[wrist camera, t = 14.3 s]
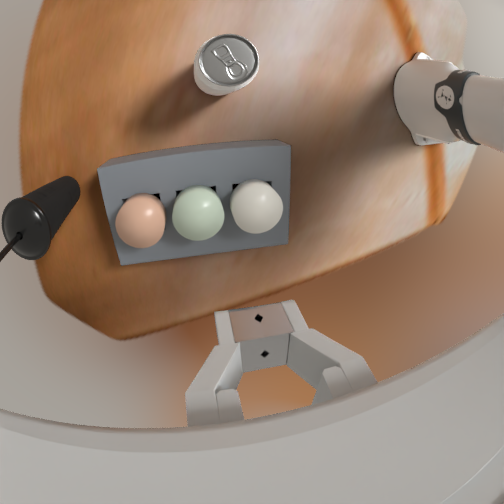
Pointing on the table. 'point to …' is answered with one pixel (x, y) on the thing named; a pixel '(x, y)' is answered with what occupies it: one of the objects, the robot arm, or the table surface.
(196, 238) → the knob mid
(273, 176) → the mount
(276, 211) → the knob
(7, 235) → the drinking cup
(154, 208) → the knob
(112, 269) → the table surface
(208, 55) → the can
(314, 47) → the table surface
